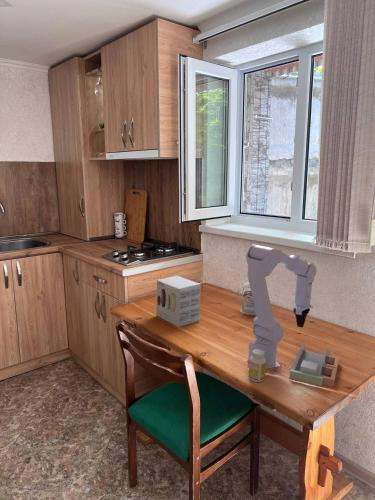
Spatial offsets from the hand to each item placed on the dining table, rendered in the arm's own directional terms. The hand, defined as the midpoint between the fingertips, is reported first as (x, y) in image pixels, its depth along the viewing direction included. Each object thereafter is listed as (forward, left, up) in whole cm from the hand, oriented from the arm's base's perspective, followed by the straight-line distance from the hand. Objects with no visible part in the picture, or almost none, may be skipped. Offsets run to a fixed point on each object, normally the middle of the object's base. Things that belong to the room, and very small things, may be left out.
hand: (300, 326), depth 145 cm
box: (-3, -14, -10) cm, 17 cm away
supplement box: (-36, +44, -10) cm, 58 cm away
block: (-9, -18, -9) cm, 22 cm away
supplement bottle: (-26, -14, -10) cm, 31 cm away
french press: (+1, +44, -10) cm, 45 cm away
